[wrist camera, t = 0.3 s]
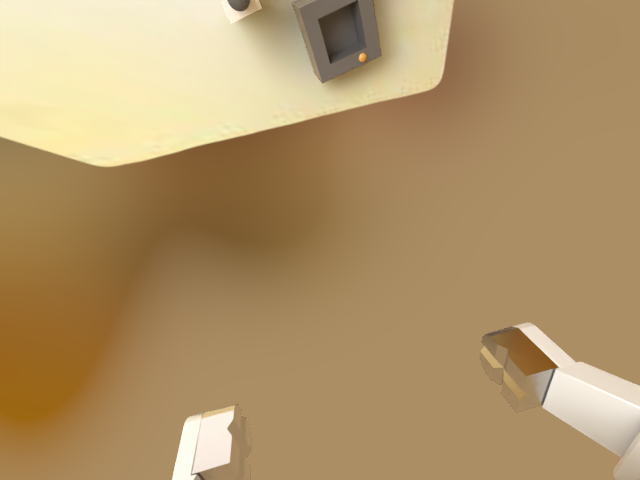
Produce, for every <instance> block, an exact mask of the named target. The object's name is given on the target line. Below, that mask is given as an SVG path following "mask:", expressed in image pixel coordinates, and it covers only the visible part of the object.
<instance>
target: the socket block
mask: <svg viewBox="0 0 640 480" xmlns="http://www.w3.org/2000/svg"><path fill="white" fill-rule="evenodd" d="M292 4H293V7H294V10H295V13H296V16H297V19H298V23H299V26H300V29H301V32H302V35H303V38H304V41H305V44H306V48H307V51H308V54H309V57H310V60H311V63H312V66H313V69H314V73H315V75H316V76H317V77H318V78H319V80H320V81H321V82H322V83H324V82H326V81H328V80H330V79H333V78H335V77H337V76H339V75H341V74H343V73H346V72H348V71H350V70H352V69H354V68H356V67H358V66H361V65H363V64H365V63H367V62H369V61H371V60H373V59H376V58H378V57H380V56H381V50H380V44H379V37H378V31H377V24H376V18H375V11H374V5H373V0H299V1H297V2H295V3H292Z"/></svg>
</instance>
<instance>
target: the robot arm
mask: <svg viewBox="0 0 640 480" xmlns="http://www.w3.org/2000/svg"><path fill="white" fill-rule="evenodd" d="M482 343H483V345H484V348H483V349H482V350H481V351H480V360H481V364H482V367H483V369H484V370H485V372H486V374H487V375H488V376H489V378H490V379H491V380H492V381H494V382H496V383H497V384H499V385H500V388H501V394H502V395H503V396H504V398H505V399H506V400H507V402H508V403H509V404H510V405H511V407H512V408H513V409H514V411H515V412H516V413H517V412H521V411H524V410H528V409H532V408H536V407H539V406H543V408H544V409H546V410H547V411H549V412H550V413H552V414H553V415H555V416H557V417H558V418H560V419H561V420H563V421H564V422H566V423H568V424H569V425H571V426H572V427H574V428H575V429H577V430H579V431H580V432H582V433H583V434H585V435H587V436H588V437H590V438H591V439H593V440H594V441H596V442H598V443H599V444H601V445H602V446H604V447H605V448H607V449H609V450H610V451H612V452H613V453H615V454H616V455H618V456H620V457H621V460H620V461H619V463H618V464H617V466H616V468H615V469H614V477H615V478H616V479H617V480H640V386H638V385H636V384H634V383H631V382H629V381H626V380H624V379H622V378H619V377H617V376H614V375H612V374H609V373H607V372H605V371H602V370H600V369H597V368H595V367H593V366H590V365H588V364H585V363H583V362H577V363H576V362H575V361H574V360H573V359H572V358H571V357H569V356H568V355H567V354H566V353H565V352H564V351H563V350H562V349H560V348H559V347H558V346H557V345H556V344H555V343H554V342H553V341H552V340H550V339H549V338H548V337H547V336H546V335H545V334H544V333H543V332H541V331H540V330H539V329H538V328H537V327H536V326H535V325H533V324H531V323H523V324H520V325H516V326H513V327H512V326H511V327H508V328H504V329H501V330H498V331H495V332H491V333H488V334H485V335H484V336H483V337H482ZM241 412H242V409H241V408H240V406H239V405H238V404H236V405H232V406H228V407H224V408H221V409H217V410H213V411H209V412H205V413H201V414H198V415H194V416H191V417H188V418H187V420H186V422H185V424H184V428H183V432H182V437H181V441H180V446H179V450H178V455H177V460H176V464H175V468H174V473H173V478H172V480H251V465H250V464H249V462H248V460H247V457H248V455H249V453H250V451H251V448H252V445H251V444H252V439H251V431H250V426H249V423H248V421H247V419H246V417H243V416H241Z"/></svg>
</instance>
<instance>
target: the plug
mask: <svg viewBox="0 0 640 480" xmlns="http://www.w3.org/2000/svg"><path fill="white" fill-rule="evenodd" d="M220 2H221V4H222V6H223V9H224V11H225V13H226V15H227V17H228V19H229V21H230V24H231V23H233V22H236V21H238V20H240V19H242V18H244V17H246V16H248V15H250V14H252V13H254V12H256V11H258V10H260V9H262V7H261V4H260V2H259V0H220Z"/></svg>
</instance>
